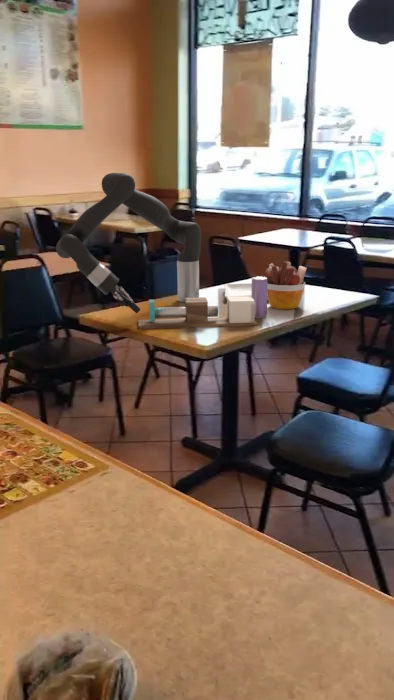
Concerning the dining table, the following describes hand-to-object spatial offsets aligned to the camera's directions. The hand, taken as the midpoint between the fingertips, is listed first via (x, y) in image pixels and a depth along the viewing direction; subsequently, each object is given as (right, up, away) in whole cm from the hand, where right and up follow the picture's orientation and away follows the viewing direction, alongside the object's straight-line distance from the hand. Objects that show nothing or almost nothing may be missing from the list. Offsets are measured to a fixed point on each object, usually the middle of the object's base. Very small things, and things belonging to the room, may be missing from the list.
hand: (138, 311), depth 231 cm
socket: (+37, -4, +4) cm, 38 cm away
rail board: (+21, -5, +3) cm, 22 cm away
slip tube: (+16, -3, +2) cm, 17 cm away
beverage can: (+45, -1, +13) cm, 47 cm away
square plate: (+47, +9, +50) cm, 69 cm away
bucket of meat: (+57, +3, +29) cm, 64 cm away
